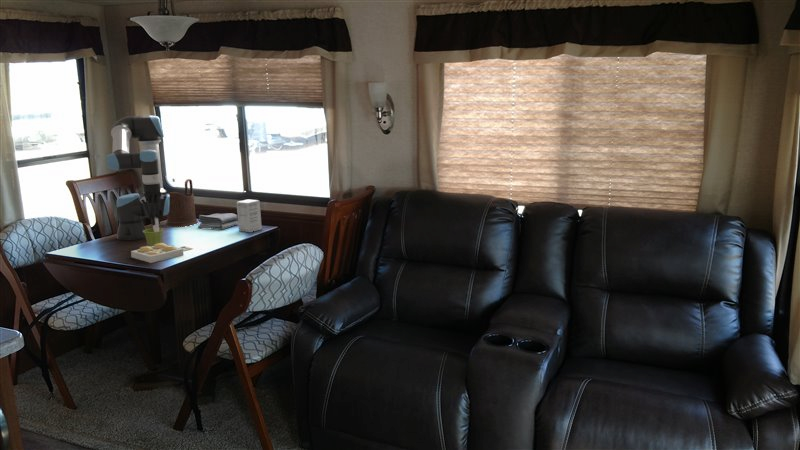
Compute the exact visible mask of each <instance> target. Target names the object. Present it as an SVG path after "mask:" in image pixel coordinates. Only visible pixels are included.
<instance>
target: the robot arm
mask: <svg viewBox="0 0 800 450" xmlns="http://www.w3.org/2000/svg"><path fill="white" fill-rule="evenodd" d="M110 136H111V138H112V153H109V154H107V156H106V162H107V168H108V169H109V170H111V171H112V170H116V171H117V170H118V171H119V170H130V169H140V170H141V178H142V183H143V184H142V188H143V189H142V190H143V195H140V194H139V193H138V192H137V193H128V194H124V195H121V196H119V197H117V199H116V209H117V215H118V216H117V217H118V228H117V233H116V239H117V240H119V241H134V240H135V241H136V240H141V239H146V237H145V235H144V233H143V231H144V230H146V229H147V228H146V226H145V224H144V222H143V218H147V219H150V224H151V226H152V228H153V230H154V231H155V232H159V228H160V225H161V219H160V218H161V217H163V216H167V215H168V213H169V201H170V200H169V199H170V195H169V194H167V193H168V192H167V190H166V189H164V184H163V175H162V165H161V164H162V163H161V153H160V145H159V144H160V143H161V142H162V138H164V132H163V129H162V124H161V119H160V117H159V116H157V115H134V116H130V115H129V116H125V117H122V118H120V119H118V120H117V121H115V123H114V124H113V125H112V127H111V130H110ZM131 139H137V142H138V143H139V144H140V145H141V150H140V151H139V152H130V140H131Z"/></svg>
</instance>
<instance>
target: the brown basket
mask: <svg viewBox="0 0 800 450" xmlns="http://www.w3.org/2000/svg"><path fill="white" fill-rule="evenodd" d="M188 183H189V188H188ZM189 190H190V193H189ZM167 194H169V195H170V199H169V200H170V201H169V213H168V215H166V216H167V217H166V218H167V220H166V224H165V226H166V227H167V226H168V228H186V227H185V226H187V227H191V226H190V225H192V226H195V225H194V224H196V225H198V224H199V221H198V220H197V217H196V208H195V197H194V196H195V195H194V188H193V181H192V179H190V178H189V179H186V180H185V182H184V193H180V192H175V191H173V192H167ZM197 223H198V224H197Z"/></svg>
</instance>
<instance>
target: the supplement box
mask: <svg viewBox="0 0 800 450" xmlns="http://www.w3.org/2000/svg"><path fill="white" fill-rule="evenodd" d="M236 211H237V214H236V215H237V217H238V219H237V222H238V224H237V225H238V231H239V230H240V231H239V232H244V231H245V232H244V233H253V231H254V232H257V231H261V230H263V229H262V228H263V226H262V216H261V214H262V213H261V202H260V200H258V199H250V198H249V199H243V200H239V201H236Z"/></svg>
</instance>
